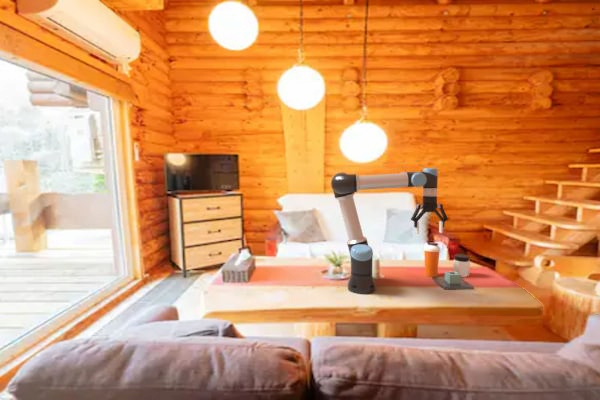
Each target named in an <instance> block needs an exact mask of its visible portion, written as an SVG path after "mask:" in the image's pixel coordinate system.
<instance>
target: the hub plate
mask: <svg viewBox="0 0 600 400" xmlns="http://www.w3.org/2000/svg"><path fill="white" fill-rule="evenodd" d="M431 280H432V281H433V282H434V283H436V284H437V285H438V286H439V287H440V288H441V289H443V290H446V291H447V290H449V291H450V290H452V291H454V290H455V291H456V290H474V285H472V284H471V283H469V282H468V281H467V280H465V279H463V277H461V282H460V284H449V283H448V282H447V281H445V276H436V277H431Z"/></svg>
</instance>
